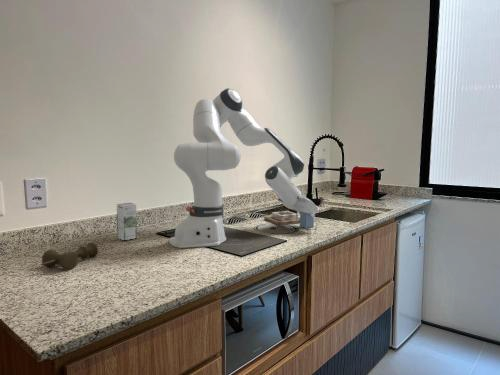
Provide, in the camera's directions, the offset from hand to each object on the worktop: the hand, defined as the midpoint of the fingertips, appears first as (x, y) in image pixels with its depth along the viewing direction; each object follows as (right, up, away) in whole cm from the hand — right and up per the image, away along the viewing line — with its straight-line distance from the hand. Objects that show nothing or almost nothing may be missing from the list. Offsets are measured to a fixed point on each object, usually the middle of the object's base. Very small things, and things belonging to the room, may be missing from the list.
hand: (307, 215), depth 177 cm
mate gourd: (-4, -2, +32) cm, 32 cm away
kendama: (-85, -12, -55) cm, 102 cm away
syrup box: (-77, -8, -23) cm, 81 cm away
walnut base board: (-10, -4, +12) cm, 16 cm away
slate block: (-1, -5, 0) cm, 5 cm away
